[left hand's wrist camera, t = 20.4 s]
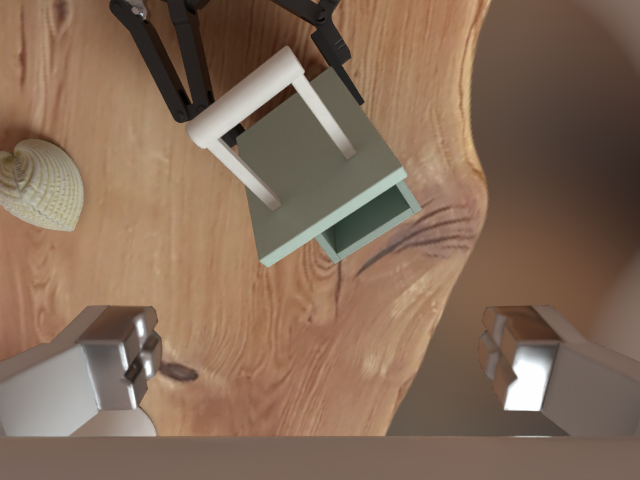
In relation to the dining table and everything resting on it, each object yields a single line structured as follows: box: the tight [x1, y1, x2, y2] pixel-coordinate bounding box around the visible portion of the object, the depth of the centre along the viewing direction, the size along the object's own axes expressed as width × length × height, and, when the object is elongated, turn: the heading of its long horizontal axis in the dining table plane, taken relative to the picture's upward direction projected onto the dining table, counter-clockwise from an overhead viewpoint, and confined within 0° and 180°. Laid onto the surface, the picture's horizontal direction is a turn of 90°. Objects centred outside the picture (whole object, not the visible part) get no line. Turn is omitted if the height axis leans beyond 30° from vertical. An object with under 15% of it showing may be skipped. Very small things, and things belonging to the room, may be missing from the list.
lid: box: [185, 46, 408, 267], centre depth 25 cm, size 14×9×8 cm
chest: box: [314, 180, 422, 264], centre depth 39 cm, size 14×9×9 cm
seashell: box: [0, 139, 84, 231], centre depth 41 cm, size 8×8×8 cm
